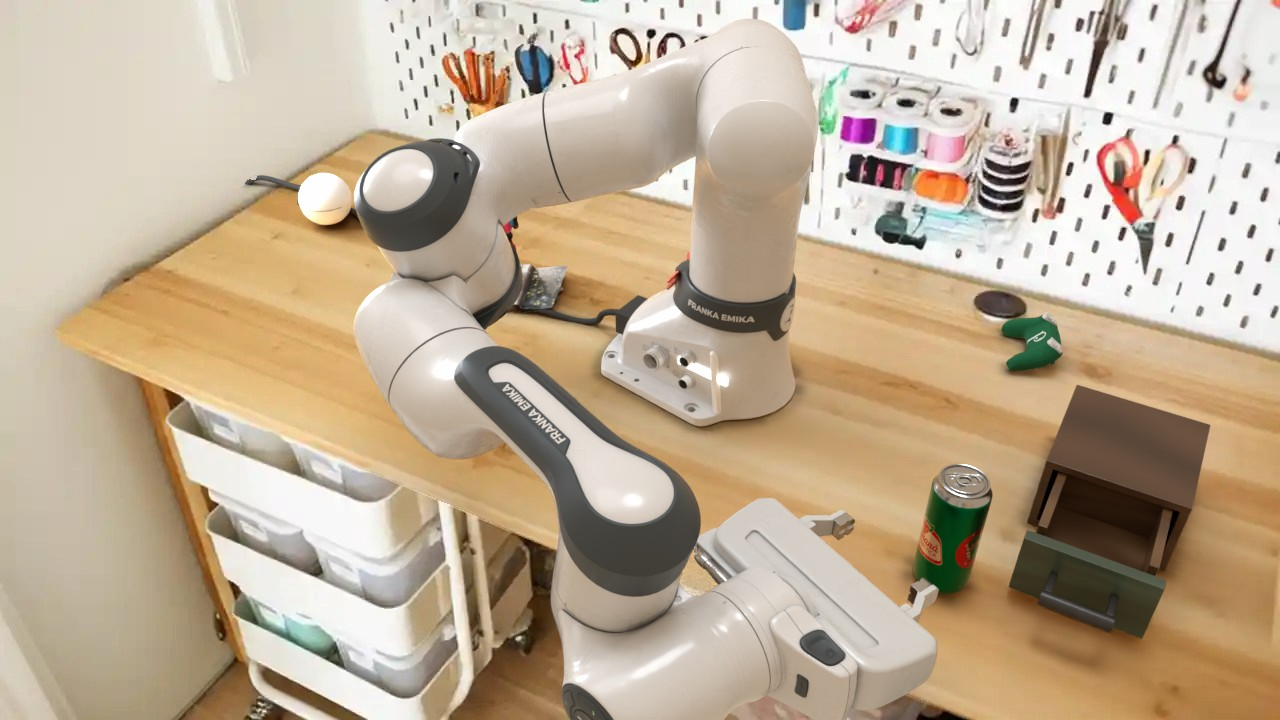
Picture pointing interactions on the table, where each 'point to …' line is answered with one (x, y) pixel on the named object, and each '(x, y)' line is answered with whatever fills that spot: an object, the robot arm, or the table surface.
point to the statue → (537, 280)
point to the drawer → (1095, 556)
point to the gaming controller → (1034, 342)
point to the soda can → (952, 527)
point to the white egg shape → (325, 198)
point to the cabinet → (1128, 455)
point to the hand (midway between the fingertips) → (888, 552)
